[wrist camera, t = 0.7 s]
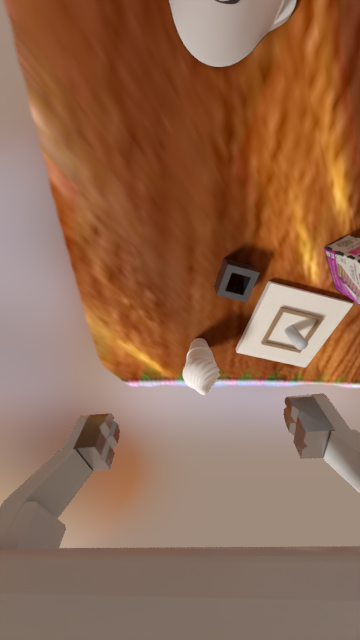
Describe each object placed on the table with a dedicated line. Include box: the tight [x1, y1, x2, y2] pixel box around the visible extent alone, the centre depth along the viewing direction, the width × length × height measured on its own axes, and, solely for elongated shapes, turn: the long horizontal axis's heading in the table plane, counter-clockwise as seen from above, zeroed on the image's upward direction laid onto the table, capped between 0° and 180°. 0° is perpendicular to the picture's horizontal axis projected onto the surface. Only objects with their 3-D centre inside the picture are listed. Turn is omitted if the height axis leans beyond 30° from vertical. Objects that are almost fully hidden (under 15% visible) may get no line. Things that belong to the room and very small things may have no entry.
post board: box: [236, 281, 353, 368], centre depth 49 cm, size 20×20×8 cm
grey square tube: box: [214, 258, 260, 302], centre depth 44 cm, size 7×7×5 cm
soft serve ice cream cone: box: [183, 338, 220, 395], centre depth 49 cm, size 8×8×16 cm
